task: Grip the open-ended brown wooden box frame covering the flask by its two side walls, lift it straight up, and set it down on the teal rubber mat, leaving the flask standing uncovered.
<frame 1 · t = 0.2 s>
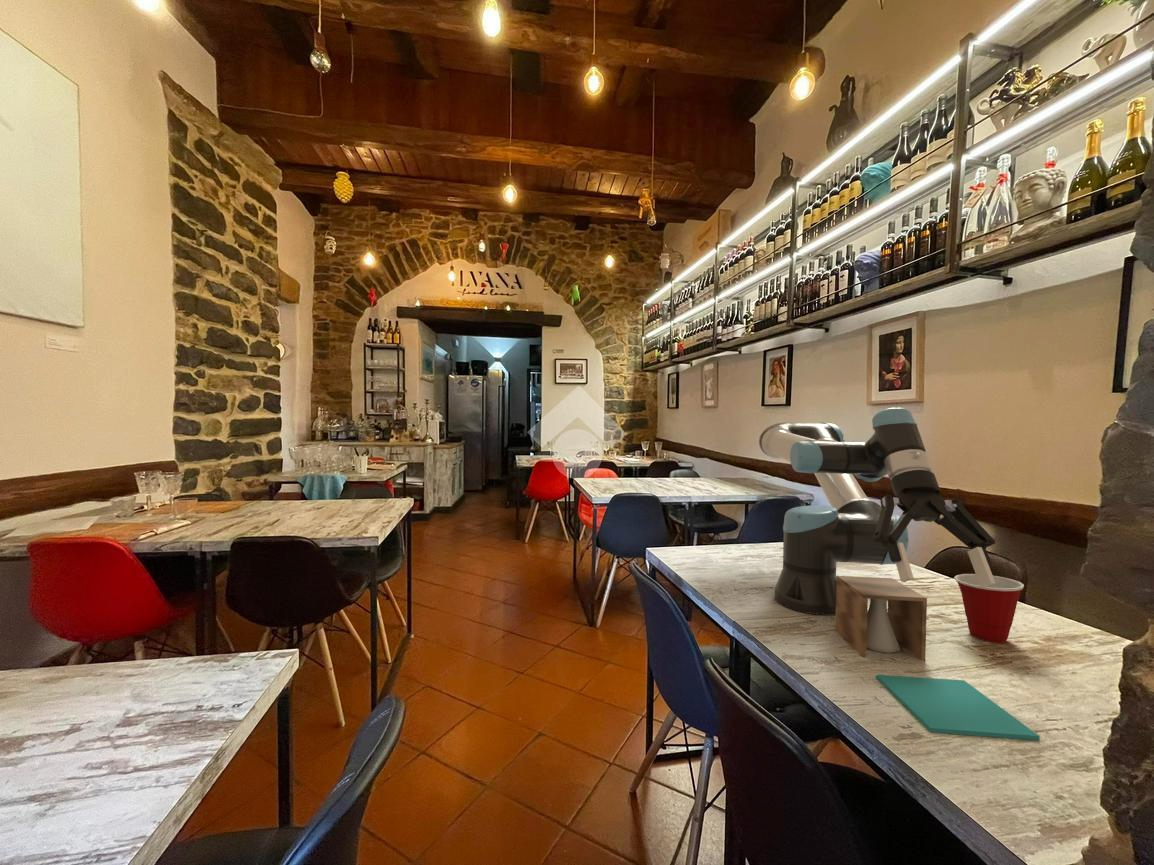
hand: (947, 582, 82), 15 cm above the table, tool tilted 35°, fingers open, 13 cm apart
plastic cup: (986, 637, 95), on the table
mat: (948, 705, 71), on the table
brown wooden box frame: (877, 645, 91), on the table
flask: (877, 646, 91), on the table
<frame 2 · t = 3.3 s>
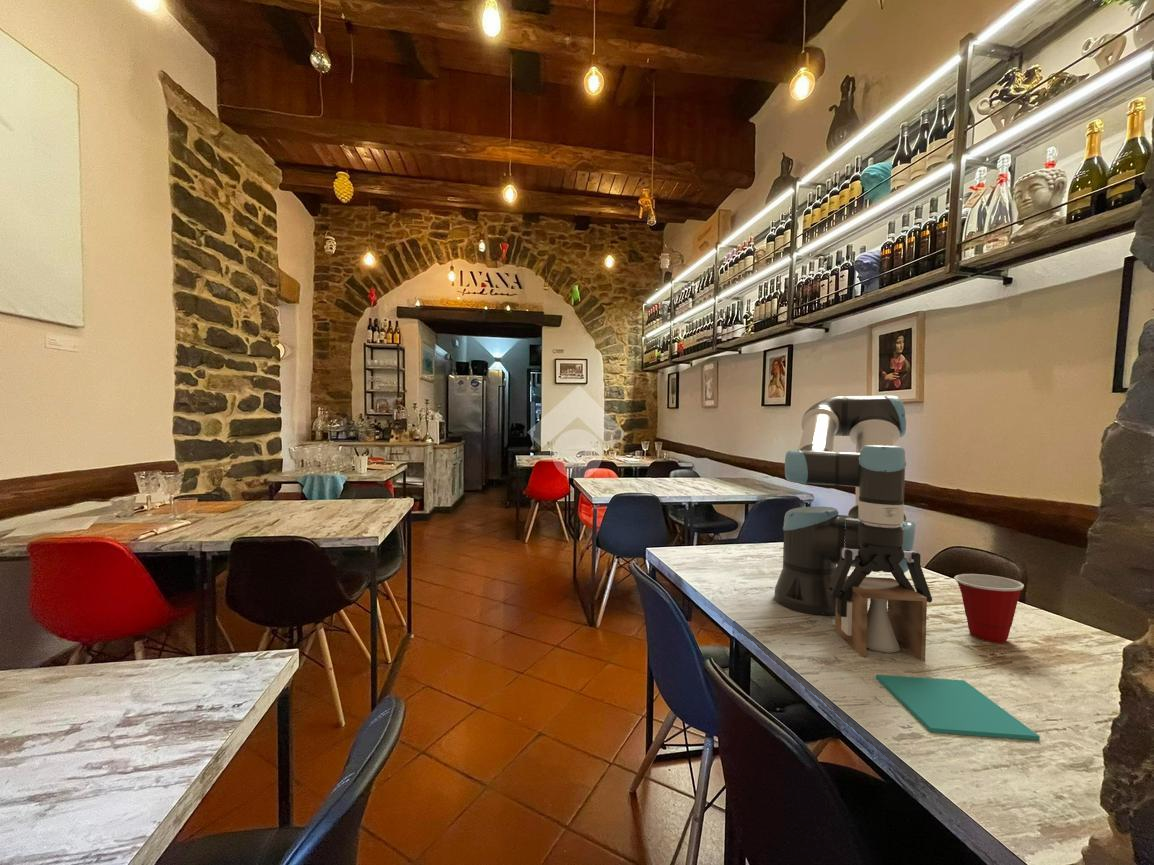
hand: (877, 634, 91), 2 cm above the table, tool pointing down, fingers closed on brown wooden box frame, 11 cm apart
brown wooden box frame: (877, 644, 91), on the table, touching gripper
everything else where it was.
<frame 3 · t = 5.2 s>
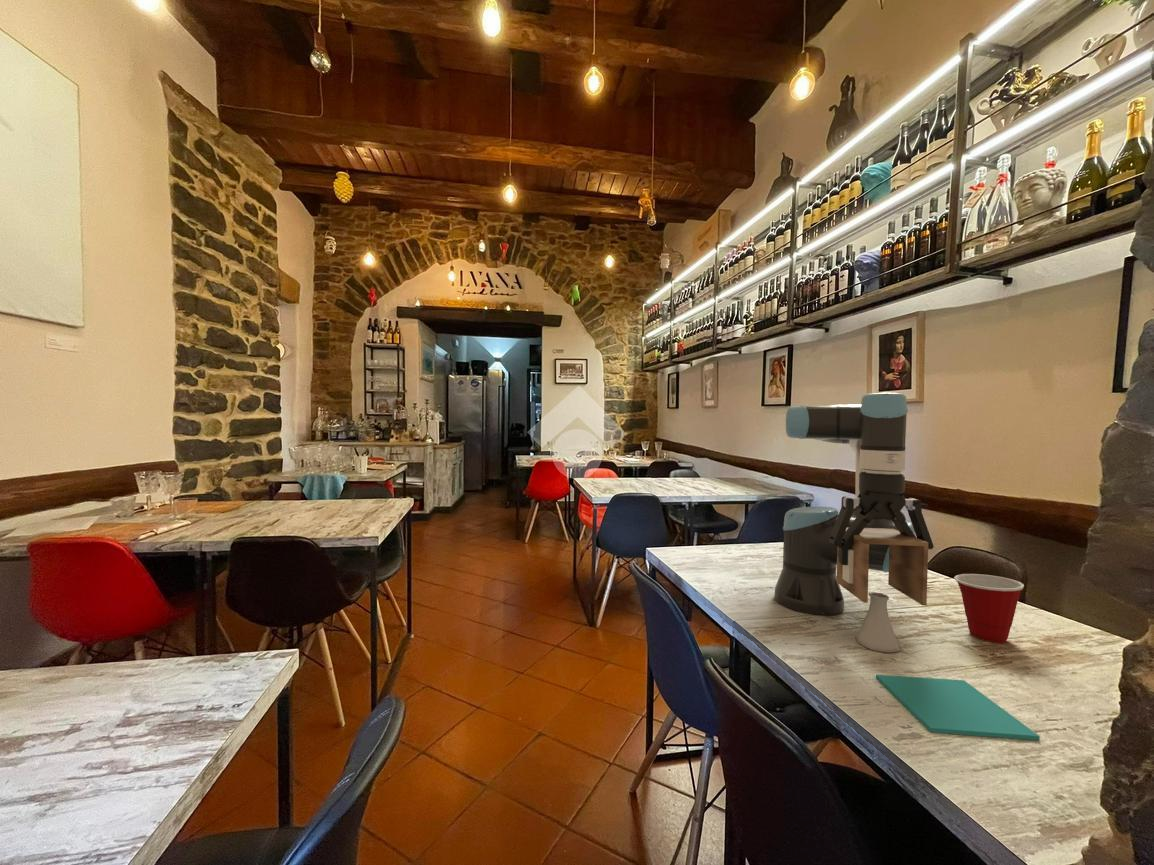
hand: (878, 582, 91), 12 cm above the table, tool pointing down, fingers closed on brown wooden box frame, 11 cm apart
brown wooden box frame: (878, 593, 91), point 10 cm above the table, touching gripper
everything else where it was.
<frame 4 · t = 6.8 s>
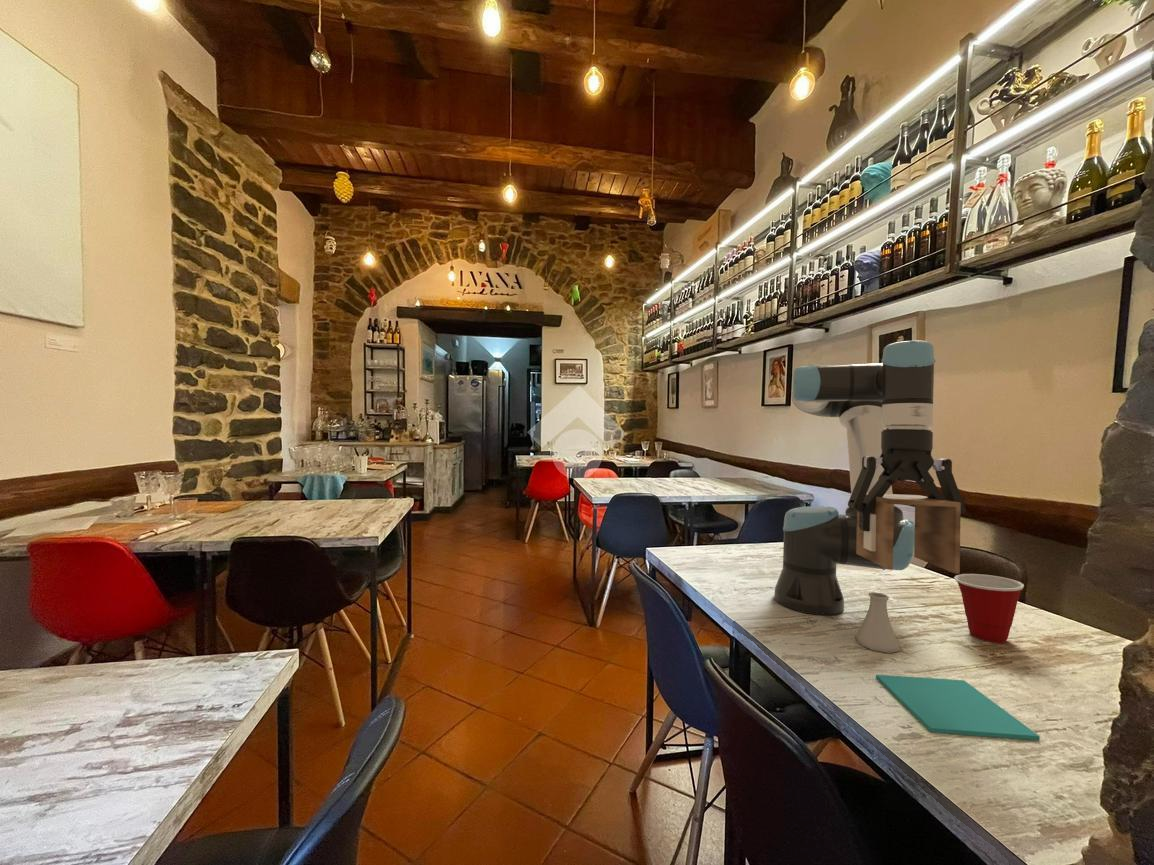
hand: (904, 551, 82), 21 cm above the table, tool pointing down, fingers closed on brown wooden box frame, 11 cm apart
brown wooden box frame: (904, 563, 82), point 19 cm above the table, touching gripper
everything else where it was.
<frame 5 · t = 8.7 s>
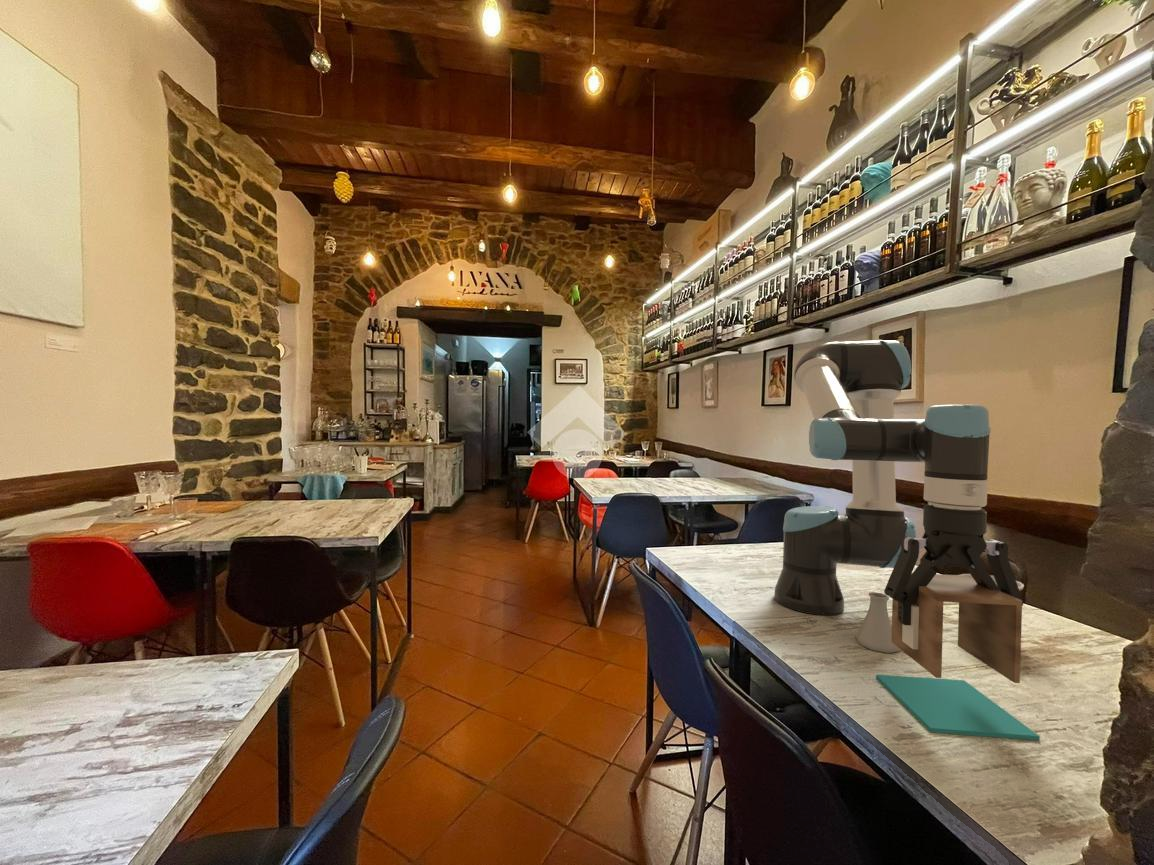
hand: (950, 647, 71), 9 cm above the table, tool pointing down, fingers closed on brown wooden box frame, 11 cm apart
brown wooden box frame: (950, 660, 71), point 7 cm above the table, touching gripper
everything else where it was.
when the fingers open (4 cm above the table, at t = 10.3 s): brown wooden box frame drops 1 cm, resting on mat.
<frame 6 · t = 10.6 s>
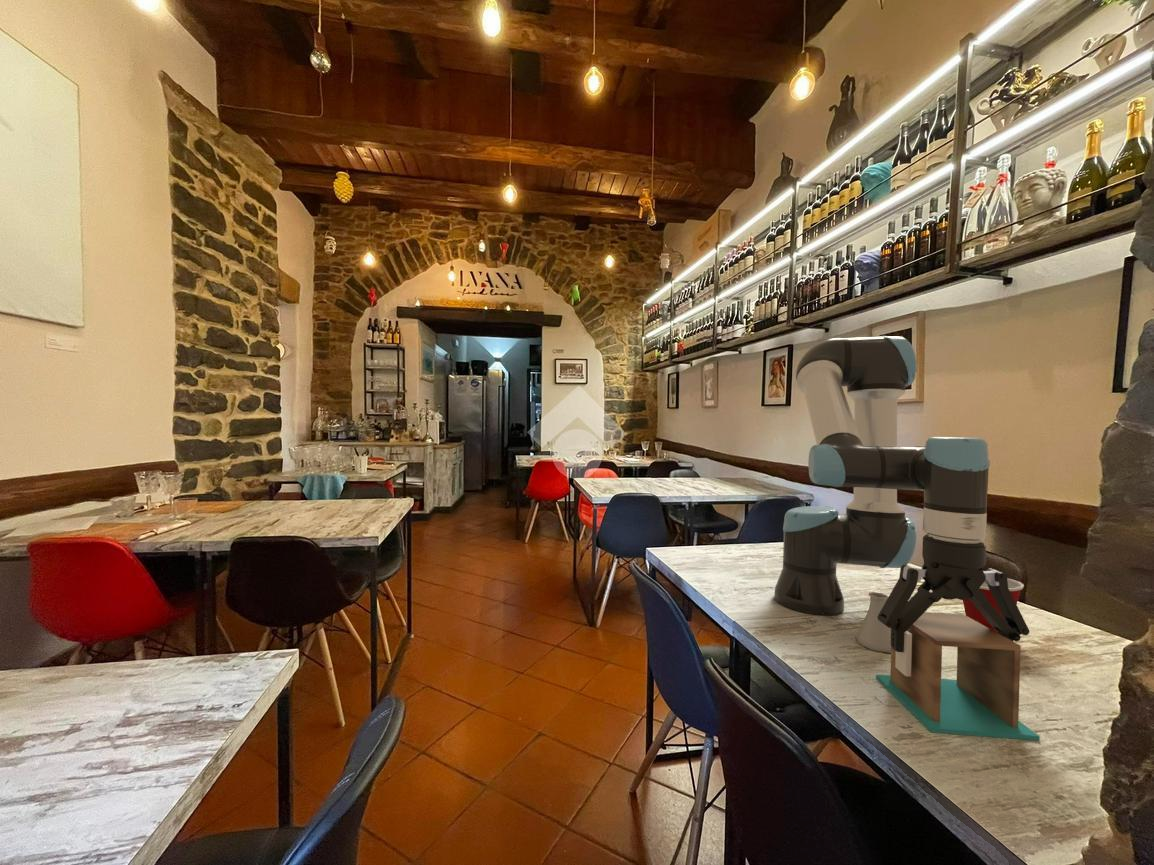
hand: (949, 675, 71), 5 cm above the table, tool pointing down, fingers open, 13 cm apart
brown wooden box frame: (948, 701, 71), point 1 cm above the table, touching mat
everything else where it was.
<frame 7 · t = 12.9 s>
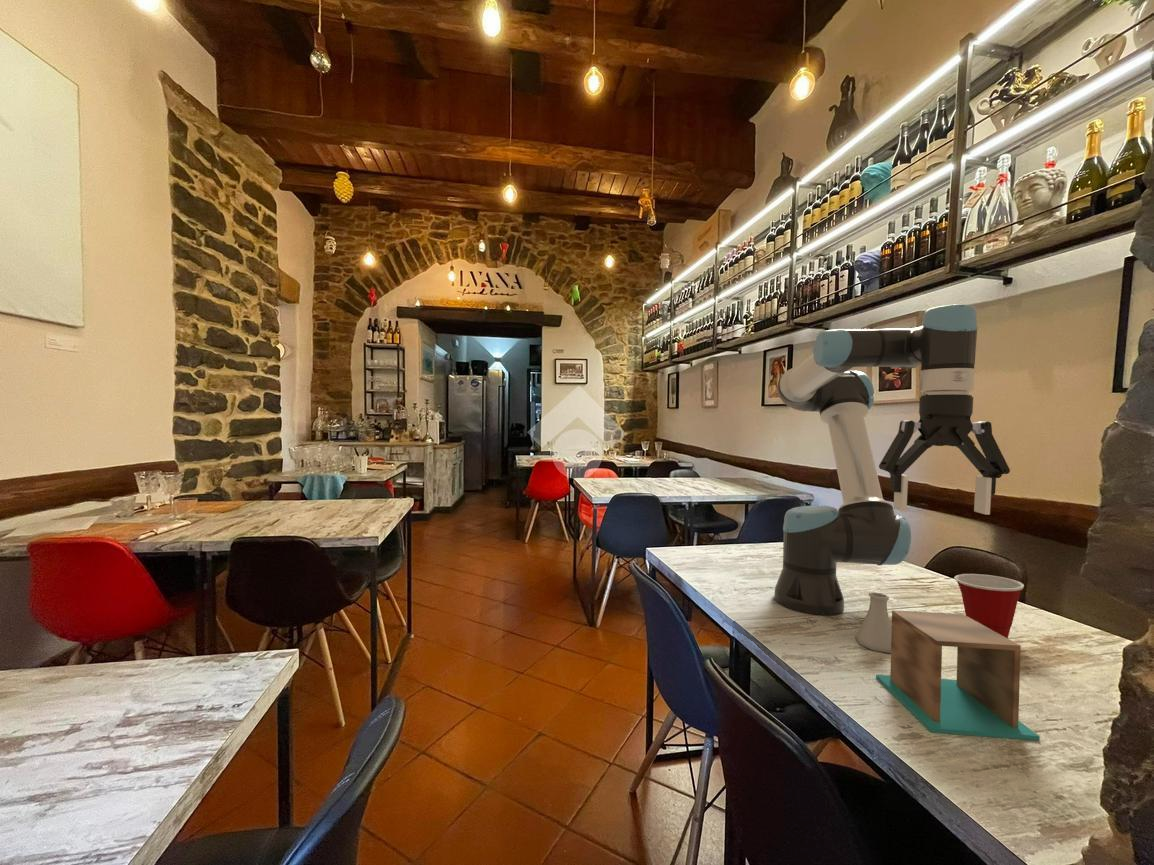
hand: (940, 511, 83), 28 cm above the table, tool pointing down, fingers open, 13 cm apart
nothing on the table moved.
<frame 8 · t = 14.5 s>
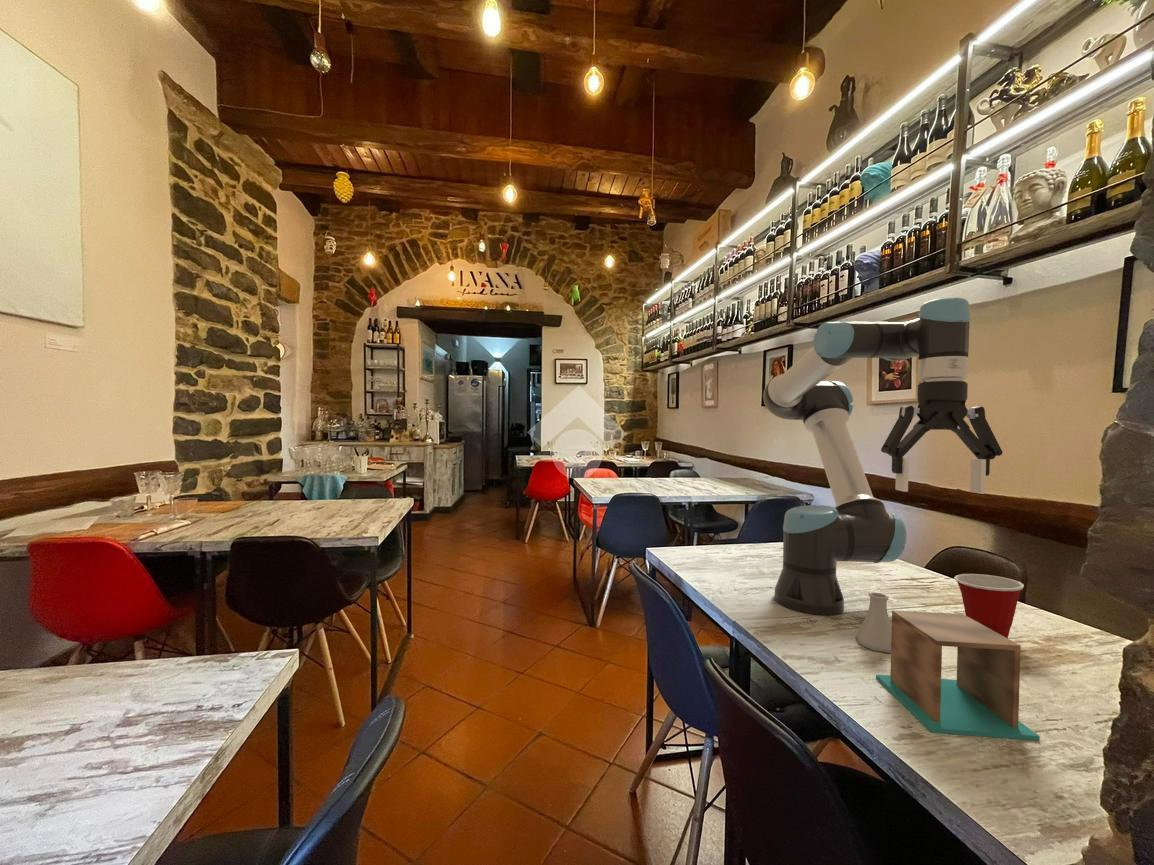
hand: (939, 492, 88), 31 cm above the table, tool pointing down, fingers open, 13 cm apart
nothing on the table moved.
at the end: brown wooden box frame inside the target area on the mat (0.0 cm from its centre), point 0.6 cm above the mat's base; brown wooden box frame tilted 0°; flask moved 0.3 cm from its start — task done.
